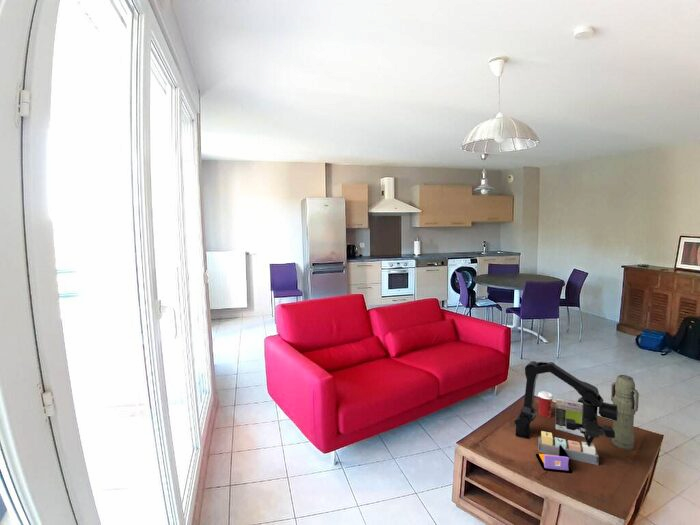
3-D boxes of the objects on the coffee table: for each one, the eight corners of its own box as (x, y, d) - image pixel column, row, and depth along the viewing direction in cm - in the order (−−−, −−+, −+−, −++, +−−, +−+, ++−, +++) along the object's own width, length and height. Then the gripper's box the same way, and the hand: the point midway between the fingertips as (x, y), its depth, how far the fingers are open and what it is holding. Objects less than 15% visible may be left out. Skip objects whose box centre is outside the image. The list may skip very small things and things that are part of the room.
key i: (541, 444, 169) (541, 435, 168) (540, 439, 173) (541, 430, 172) (552, 446, 167) (552, 437, 166) (551, 441, 171) (551, 432, 170)
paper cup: (554, 421, 195) (555, 397, 194) (539, 420, 197) (540, 396, 196) (549, 414, 203) (550, 391, 202) (535, 413, 204) (536, 390, 203)
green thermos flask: (614, 436, 180) (617, 371, 177) (640, 448, 169) (644, 379, 167) (603, 440, 177) (606, 373, 174) (630, 453, 166) (633, 383, 163)
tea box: (587, 429, 187) (588, 403, 186) (588, 438, 178) (589, 411, 177) (555, 421, 195) (556, 396, 194) (554, 430, 186) (555, 404, 185)
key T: (583, 455, 161) (583, 446, 161) (581, 450, 165) (581, 441, 165) (595, 458, 159) (595, 449, 159) (593, 452, 163) (593, 443, 163)
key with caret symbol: (554, 450, 166) (555, 441, 166) (554, 445, 170) (554, 436, 170) (566, 453, 164) (566, 444, 164) (564, 448, 168) (565, 439, 168)
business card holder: (573, 474, 153) (573, 459, 152) (543, 471, 155) (544, 456, 154) (562, 457, 164) (562, 443, 164) (534, 454, 167) (535, 440, 166)
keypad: (538, 451, 168) (539, 443, 168) (538, 443, 174) (538, 436, 174) (598, 465, 158) (598, 456, 158) (595, 456, 164) (595, 448, 164)
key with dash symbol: (568, 453, 164) (569, 444, 163) (567, 448, 168) (567, 439, 168) (580, 456, 162) (580, 447, 161) (578, 451, 166) (579, 442, 166)
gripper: (568, 417, 158) (567, 449, 159) (619, 426, 149) (617, 460, 151) (565, 406, 168) (564, 436, 169) (612, 414, 160) (611, 446, 161)
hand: (588, 445), depth 162 cm, fingers closed, pressing on key T
